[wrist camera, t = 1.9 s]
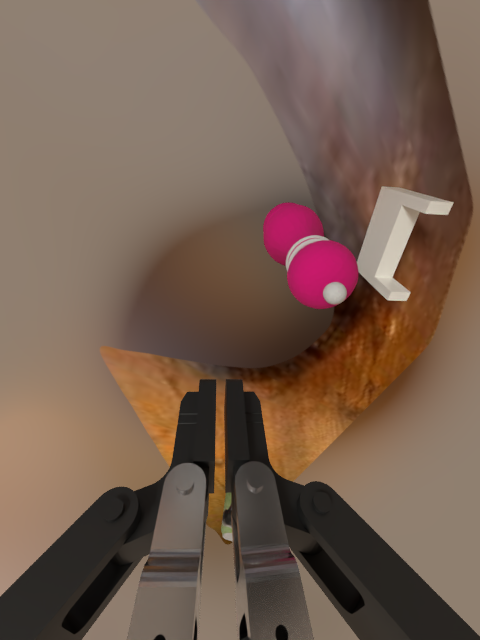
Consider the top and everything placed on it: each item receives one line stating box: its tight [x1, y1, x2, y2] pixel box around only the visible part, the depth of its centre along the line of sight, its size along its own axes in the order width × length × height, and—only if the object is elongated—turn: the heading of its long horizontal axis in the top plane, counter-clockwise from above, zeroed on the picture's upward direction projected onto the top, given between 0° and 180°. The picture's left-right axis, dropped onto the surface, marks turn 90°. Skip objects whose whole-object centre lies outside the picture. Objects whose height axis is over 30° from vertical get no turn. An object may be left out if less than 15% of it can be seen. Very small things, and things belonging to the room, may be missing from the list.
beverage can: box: [221, 493, 233, 541], centre depth 74 cm, size 6×7×12 cm
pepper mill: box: [263, 203, 358, 309], centre depth 29 cm, size 7×7×20 cm
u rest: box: [357, 186, 454, 301], centre depth 34 cm, size 11×2×10 cm, turn 176°
